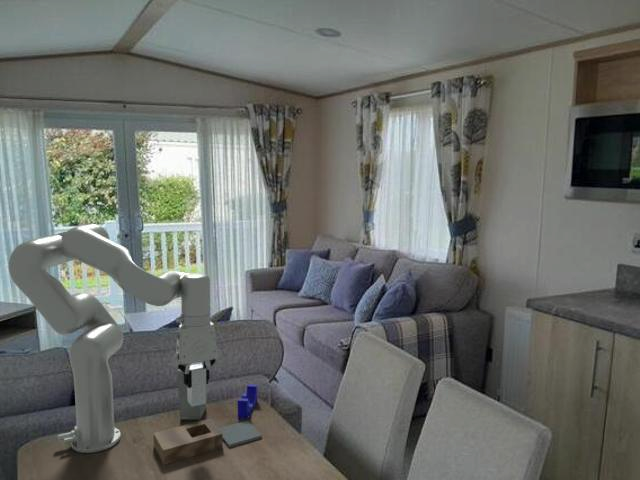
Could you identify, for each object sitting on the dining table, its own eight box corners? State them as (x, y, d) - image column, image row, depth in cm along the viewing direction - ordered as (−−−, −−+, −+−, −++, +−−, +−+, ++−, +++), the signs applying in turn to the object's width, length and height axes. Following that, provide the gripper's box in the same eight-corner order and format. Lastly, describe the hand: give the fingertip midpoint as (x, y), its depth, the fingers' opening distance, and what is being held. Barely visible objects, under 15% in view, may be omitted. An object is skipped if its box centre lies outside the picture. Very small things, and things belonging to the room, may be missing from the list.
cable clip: (244, 401, 165) (243, 383, 164) (257, 402, 165) (257, 384, 164) (233, 418, 153) (232, 400, 153) (247, 419, 153) (247, 401, 152)
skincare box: (200, 420, 151) (199, 371, 149) (177, 420, 151) (175, 370, 149) (207, 407, 160) (206, 360, 158) (185, 407, 160) (183, 360, 158)
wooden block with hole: (163, 464, 128) (163, 450, 128) (153, 446, 137) (153, 433, 136) (222, 447, 137) (222, 433, 136) (209, 431, 145) (209, 418, 145)
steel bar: (191, 406, 134) (191, 371, 133) (187, 400, 137) (187, 366, 136) (206, 403, 136) (206, 368, 135) (201, 397, 139) (201, 363, 138)
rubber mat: (229, 447, 137) (228, 444, 137) (216, 431, 145) (216, 429, 145) (262, 437, 142) (262, 435, 142) (247, 422, 150) (247, 420, 150)
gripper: (168, 327, 126) (169, 396, 128) (230, 318, 135) (230, 383, 137) (160, 320, 132) (162, 385, 135) (220, 312, 141) (220, 373, 144)
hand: (196, 383), depth 136 cm, fingers closed on steel bar, 4 cm apart
